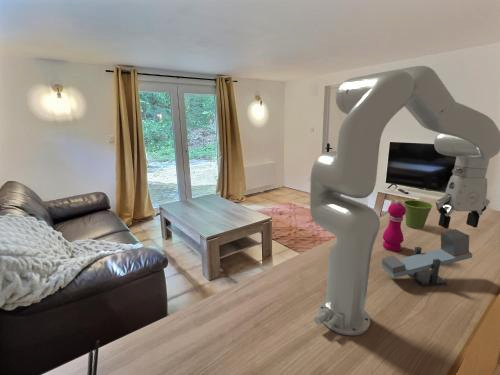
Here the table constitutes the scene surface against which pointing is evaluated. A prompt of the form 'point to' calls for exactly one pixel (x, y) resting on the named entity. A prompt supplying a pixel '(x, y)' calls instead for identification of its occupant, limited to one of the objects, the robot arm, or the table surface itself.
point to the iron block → (455, 242)
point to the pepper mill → (394, 227)
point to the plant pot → (416, 213)
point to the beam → (419, 262)
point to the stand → (428, 274)
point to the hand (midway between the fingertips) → (457, 226)
